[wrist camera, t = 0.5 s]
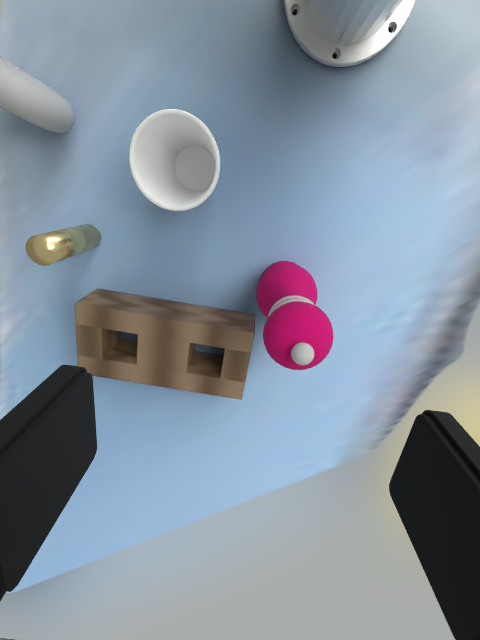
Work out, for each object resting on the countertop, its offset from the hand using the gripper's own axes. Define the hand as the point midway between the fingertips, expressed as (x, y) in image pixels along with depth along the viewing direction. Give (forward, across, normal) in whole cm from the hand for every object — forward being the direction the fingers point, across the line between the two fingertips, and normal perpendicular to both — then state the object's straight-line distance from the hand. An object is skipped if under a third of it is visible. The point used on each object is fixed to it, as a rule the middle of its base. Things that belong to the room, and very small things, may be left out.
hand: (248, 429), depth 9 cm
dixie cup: (+34, +8, -8) cm, 36 cm away
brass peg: (+34, +21, +1) cm, 40 cm away
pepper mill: (+34, -5, +4) cm, 35 cm away
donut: (+34, +25, -13) cm, 44 cm away
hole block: (+34, +10, +14) cm, 38 cm away
